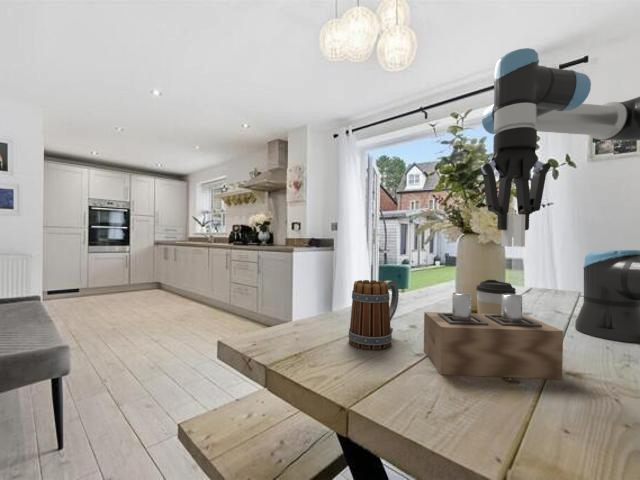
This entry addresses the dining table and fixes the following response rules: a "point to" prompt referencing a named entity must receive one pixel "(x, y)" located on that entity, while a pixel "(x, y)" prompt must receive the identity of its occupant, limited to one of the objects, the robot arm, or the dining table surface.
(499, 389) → the dining table surface
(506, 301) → the peg
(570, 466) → the dining table surface
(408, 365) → the dining table surface
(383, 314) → the mug
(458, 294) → the peg
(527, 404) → the dining table surface
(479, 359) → the socket block
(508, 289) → the coffee cup
